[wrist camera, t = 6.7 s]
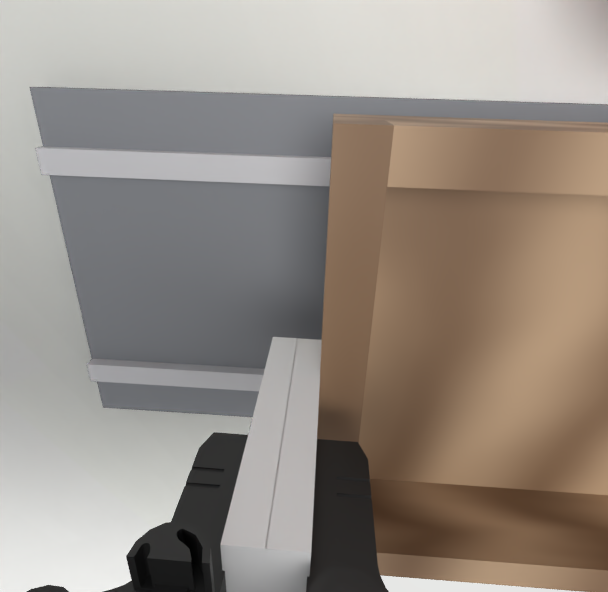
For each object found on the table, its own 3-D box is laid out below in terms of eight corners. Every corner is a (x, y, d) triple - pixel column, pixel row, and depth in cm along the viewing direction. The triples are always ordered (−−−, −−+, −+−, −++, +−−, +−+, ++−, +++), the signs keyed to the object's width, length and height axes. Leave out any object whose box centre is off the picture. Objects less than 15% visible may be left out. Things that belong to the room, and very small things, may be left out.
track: (111, 395, 23) (71, 450, 20) (45, 87, 17) (-34, 86, 13) (778, 437, 22) (865, 505, 18) (998, 116, 15) (1205, 124, 12)
